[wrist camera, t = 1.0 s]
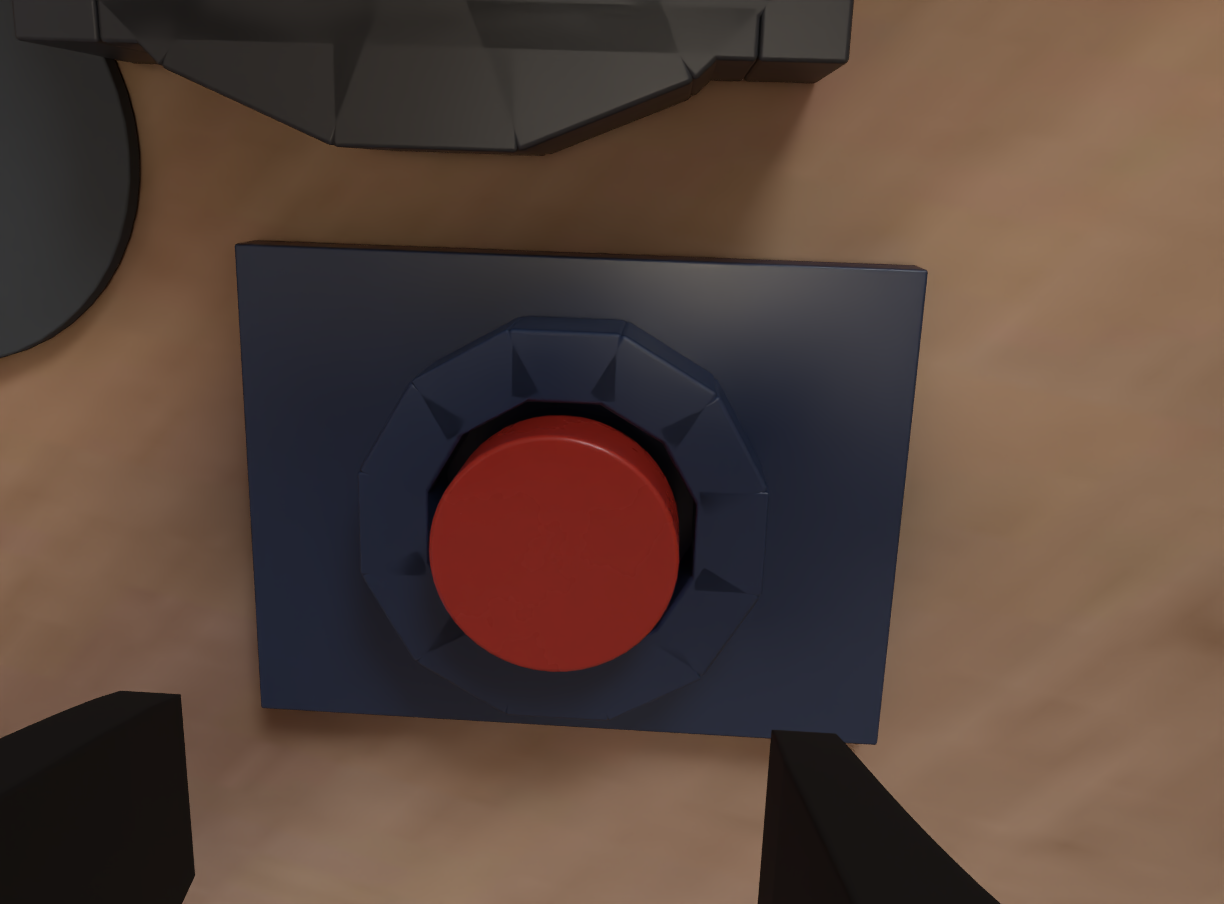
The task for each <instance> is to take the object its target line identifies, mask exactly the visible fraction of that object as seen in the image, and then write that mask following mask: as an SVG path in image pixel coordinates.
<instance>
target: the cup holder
mask: <svg viewBox="0 0 1224 904" xmlns="http://www.w3.org/2000/svg"><path fill="white" fill-rule="evenodd" d="M853 4H854V0H12V10H13V19H14V29H15V36H16V38H17V39H18V40H20V41H25V42H30V43H35V44H40V45H45V46H50V47H55V48H61V49H66V50H71V51H76V52H81V53H86V54H91V55H96V56H101V57H106V58H111V59H116V60H121V61H126V62H131V63H145V64H160V65H162V66H163V67H164V68H165V69H167V70H169V71H172V72H174V73H176V74H178V75H180V76H182V77H185V78H187V79H189V80H191V81H193V82H195V83H197V84H200V85H202V86H204V87H206V88H208V89H210V90H213V91H215V92H217V93H219V94H221V95H223V96H225V97H228V98H230V99H232V100H234V101H236V102H238V103H241V104H243V105H245V106H247V107H249V108H251V109H254V110H256V111H258V112H260V113H262V114H264V115H266V116H269V117H271V118H273V119H275V120H277V121H279V122H282V123H284V124H286V125H288V126H290V127H292V128H295V129H297V130H299V131H301V132H303V133H305V134H307V135H310V136H312V137H314V138H316V139H318V140H320V141H323V142H325V143H327V144H329V145H335V146H337V147H348V148H363V149H377V150H391V151H415V152H445V153H475V154H505V155H535V156H543V155H545V154H552V153H554V152H557V151H559V150H562V149H564V148H567V147H569V146H572V145H574V144H577V143H579V142H582V141H585V140H587V139H590V138H592V137H595V136H597V135H600V134H602V133H605V132H607V131H610V130H612V129H615V128H617V127H620V126H622V125H625V124H627V123H630V122H632V121H635V120H638V119H640V118H643V117H645V116H648V115H650V114H653V113H655V112H658V111H660V110H663V109H665V108H668V107H670V106H673V105H675V104H678V103H680V102H683V101H685V100H688V99H689V98H690V96H691V95H692V96H693V95H695V94H697V93H698V92H699V91H700V90H701V89H702V88H703V87H704V86H705V85H706V84H707V83H708V82H709V81H710V80H725V81H740V80H743V78H744V79H745V80H746V81H759V82H793V83H815V82H818V81H819V80H821V79H822V78H824V77H825V76H827V75H828V74H830V73H832V72H833V71H835V70H836V69H838V68H839V67H841V66H842V65H844V64H846V63H847V62H848V60H849V51H850V39H851V27H852V16H853Z"/></svg>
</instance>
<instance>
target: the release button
mask: <svg viewBox="0 0 1224 904" xmlns="http://www.w3.org/2000/svg"><path fill="white" fill-rule="evenodd" d="M429 560H430V568H431V573H432V577H433V581H434V584H435V587H436V589H437V592H438V595H439V597H440V599H441V601H442V603H443V605H444V607H445V608H446V610H447V612H448V613H449V614H450V616H451V617H452V619H453V620H454V622H455V623H456V624H457V625H458V626H459V627H460V629H461V630H462V631H463V632H464V633H465V634H466V635H467V636H468V637H469V638H471V639H472V640H473V641H474V642H475V643H476V644H477V645H479V646H480V647H482V648H483V649H485V650H486V651H488V652H489V653H491V654H493V655H495V656H497V657H499V658H501V659H502V660H504V661H507V662H510V663H512V664H515V665H518V666H521V667H525V668H529V669H534V670H541V671H549V672H567V671H575V670H583V669H586V668H590V667H594V666H598V665H600V664H603V663H606V662H608V661H611V660H613V659H615V658H617V657H619V656H620V655H622V654H624V653H626V652H627V651H629V650H630V649H631V648H633V647H634V646H636V645H637V644H638V643H639V642H640V641H642V640H643V639H644V638H645V637H646V636H647V635H648V634H649V633H650V632H651V631H652V629H653V628H654V627H655V626H656V624H657V623H658V622H659V621H660V619H661V617H662V616H663V614H664V612H665V610H666V609H667V607H668V605H669V602H670V600H671V598H672V595H673V593H674V589H675V585H676V581H677V577H678V569H679V518H678V511H677V505H676V502H675V499H674V495H673V492H672V489H671V487H670V485H669V483H668V481H667V478H666V477H665V475H664V473H663V472H662V470H661V469H660V467H659V465H658V464H657V463H656V462H655V460H654V459H653V458H652V457H651V456H650V454H649V453H648V452H647V451H646V450H645V449H644V448H642V447H641V446H640V445H639V444H638V443H637V442H636V441H634V440H633V439H632V438H630V437H629V436H627V435H626V434H625V433H623V432H621V431H619V430H617V429H615V428H613V427H612V426H610V425H607V424H604V423H602V422H599V421H596V420H593V419H589V418H584V417H580V416H571V415H546V416H540V417H533V418H530V419H526V420H523V421H519V422H517V423H515V424H512V425H510V426H508V427H505V428H504V429H502V430H500V431H499V432H497V433H495V434H494V435H492V436H491V437H490V438H488V439H487V440H486V441H485V442H483V443H482V444H481V445H480V446H479V447H478V448H477V449H476V450H475V451H474V452H473V453H472V454H471V455H470V457H469V458H468V459H467V461H466V462H465V464H464V465H463V466H462V468H461V469H460V470H459V472H458V473H457V474H456V476H455V477H454V479H453V480H452V481H451V483H450V484H449V486H448V487H447V489H446V490H445V491H444V493H443V495H442V497H441V499H440V501H439V503H438V505H437V508H436V511H435V514H434V517H433V520H432V525H431V530H430V535H429Z"/></svg>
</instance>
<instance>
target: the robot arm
mask: <svg viewBox="0 0 1224 904" xmlns="http://www.w3.org/2000/svg"><path fill="white" fill-rule="evenodd" d="M194 876H195V869H194V857H193V844H192V831H191V819H190V806H189V793H188V781H187V768H186V756H185V743H184V730H183V718H182V705H181V694H165V693H149V692H132V691H118V692H115V693H112V694H109V695H105V696H102V697H99V698H96V699H93V700H91V701H88V702H85V703H83V704H80V705H78V706H75V707H72V708H70V709H68V710H65V711H63V712H60V713H58V714H55V715H53V716H51V717H48V718H46V719H44V720H41V721H39V722H37V723H34V724H32V725H30V726H27V727H25V728H23V729H21V730H18V731H16V732H14V733H12V734H9V735H7V736H5V737H2V738H0V904H182V902H183V900H184V898H185V896H186V894H187V892H188V889H189V887H190V885H191V883H192V881H193V879H194ZM758 904H1000V903H999V902H998V901H997V900H996V899H995V898H994V897H993V896H991V895H990V894H989V893H988V892H987V891H986V890H985V889H984V888H983V887H981V886H980V885H979V884H978V883H977V882H976V881H975V880H974V879H973V878H972V877H971V876H970V875H969V874H968V873H967V872H966V871H965V870H963V869H962V868H961V867H960V866H959V865H958V864H957V863H956V862H955V861H954V860H953V859H952V858H951V857H950V856H949V855H948V854H947V853H946V852H945V851H944V850H943V849H942V848H941V847H940V846H939V845H938V844H937V843H936V842H935V841H934V840H933V839H932V838H931V837H930V836H929V835H928V834H927V833H926V832H925V831H924V830H923V829H922V828H921V826H920V825H919V824H918V823H917V822H916V821H915V820H914V819H913V818H912V817H911V816H910V815H909V814H908V813H907V812H906V811H905V810H904V808H903V807H902V806H901V805H900V804H899V803H898V802H897V801H896V800H895V799H894V798H893V796H892V795H891V794H890V793H889V792H888V791H887V790H886V789H885V788H884V787H883V785H882V784H881V783H880V782H879V781H878V780H877V779H876V778H875V776H874V775H873V774H872V773H871V772H870V771H869V770H868V769H867V767H866V766H865V765H864V764H863V763H862V762H861V761H860V759H859V758H858V757H857V756H856V755H855V754H854V753H853V752H852V750H851V749H850V748H849V747H848V746H847V745H846V744H845V743H844V741H843V740H842V739H841V738H840V737H839V736H838V735H837V734H836V733H819V732H803V731H786V730H771V743H770V756H769V768H768V781H767V794H766V806H765V819H764V831H763V844H762V857H761V869H760V882H759V895H758Z"/></svg>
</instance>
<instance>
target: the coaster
mask: <svg viewBox="0 0 1224 904" xmlns="http://www.w3.org/2000/svg"><path fill="white" fill-rule="evenodd" d="M138 190H139V149H138V142H137V134H136V127H135V121H134V117H133V113H132V109H131V106H130V102H129V98H128V94H127V91H126V88H125V85H124V83H123V80H122V78H121V75H120V73H119V70H118V68H117V65H116V62H115V60H114V59H111V58H106V57H101V56H96V55H91V54H86V53H81V52H76V51H71V50H66V49H61V48H55V47H50V46H45V45H40V44H35V43H30V42H25V41H20V40H18V39H17V38H16V36H15V29H14V19H13V10H12V0H0V358H2V357H5V356H8V355H12V354H15V353H18V352H21V351H24V350H27V349H30V348H32V347H34V346H36V345H38V344H40V343H42V342H44V341H46V340H48V339H50V338H52V337H53V336H55V335H56V334H58V333H59V332H60V331H62V330H63V329H65V328H66V327H68V326H69V325H71V324H72V323H73V322H74V321H75V320H76V319H77V318H78V317H79V316H80V315H81V314H83V313H84V312H85V311H86V310H87V309H88V308H89V307H90V306H91V305H92V303H93V302H94V301H95V300H96V298H97V297H98V296H99V294H100V293H101V292H102V291H103V289H104V288H105V287H106V285H107V284H108V282H109V280H110V278H111V277H112V275H113V273H114V271H115V270H116V268H117V266H118V264H119V263H120V260H121V258H122V255H123V252H124V250H125V247H126V245H127V242H128V240H129V237H130V233H131V229H132V225H133V221H134V217H135V213H136V208H137V199H138Z"/></svg>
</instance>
